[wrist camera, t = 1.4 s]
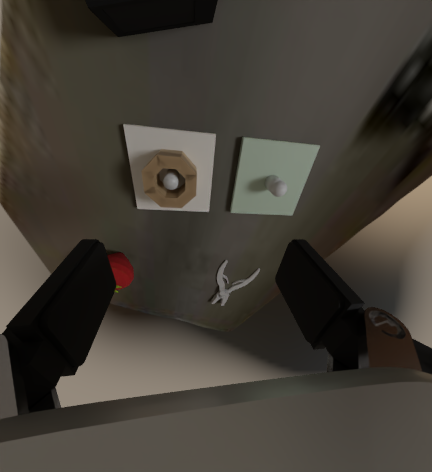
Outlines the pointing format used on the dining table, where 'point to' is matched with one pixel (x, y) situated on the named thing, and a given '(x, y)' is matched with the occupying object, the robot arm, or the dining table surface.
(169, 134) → the stand
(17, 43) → the dining table surface
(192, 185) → the collar
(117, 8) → the digital camera
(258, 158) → the plate
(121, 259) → the strawberry
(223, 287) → the pliers
